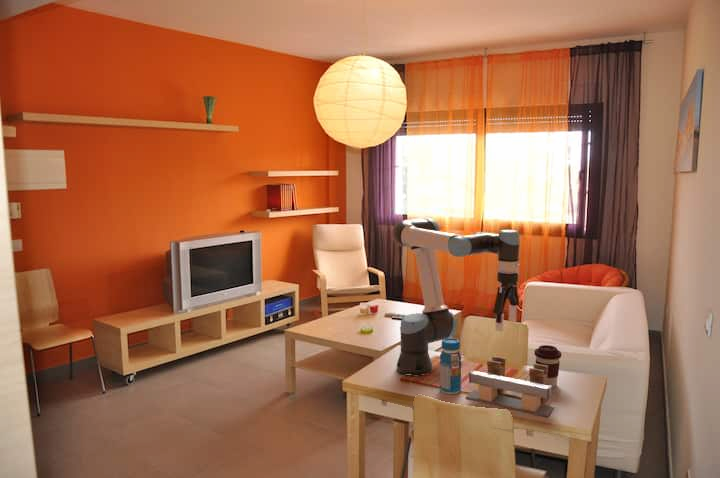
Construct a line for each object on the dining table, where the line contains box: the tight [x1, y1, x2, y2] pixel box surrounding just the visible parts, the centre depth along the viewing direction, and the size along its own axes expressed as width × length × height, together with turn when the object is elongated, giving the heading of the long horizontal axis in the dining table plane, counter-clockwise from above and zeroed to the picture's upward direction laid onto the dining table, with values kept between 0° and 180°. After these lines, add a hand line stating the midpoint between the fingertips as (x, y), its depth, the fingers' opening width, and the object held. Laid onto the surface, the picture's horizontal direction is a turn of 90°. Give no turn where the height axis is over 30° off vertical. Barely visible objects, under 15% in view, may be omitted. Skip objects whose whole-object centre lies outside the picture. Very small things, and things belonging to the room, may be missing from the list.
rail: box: [468, 369, 553, 400], centre depth 200 cm, size 29×4×4 cm, turn 57°
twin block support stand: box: [465, 384, 555, 418], centre depth 201 cm, size 30×8×6 cm, turn 57°
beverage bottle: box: [438, 337, 462, 395], centre depth 212 cm, size 8×8×20 cm
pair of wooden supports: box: [486, 355, 548, 405], centre depth 208 cm, size 22×6×12 cm, turn 57°
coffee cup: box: [534, 344, 562, 388], centre depth 217 cm, size 10×10×15 cm
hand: (505, 326), depth 210 cm, fingers open, 13 cm apart
